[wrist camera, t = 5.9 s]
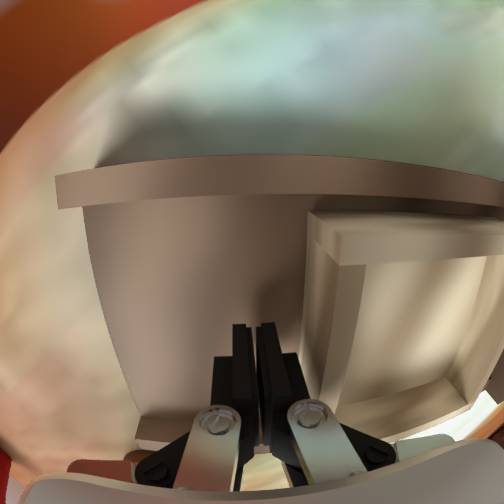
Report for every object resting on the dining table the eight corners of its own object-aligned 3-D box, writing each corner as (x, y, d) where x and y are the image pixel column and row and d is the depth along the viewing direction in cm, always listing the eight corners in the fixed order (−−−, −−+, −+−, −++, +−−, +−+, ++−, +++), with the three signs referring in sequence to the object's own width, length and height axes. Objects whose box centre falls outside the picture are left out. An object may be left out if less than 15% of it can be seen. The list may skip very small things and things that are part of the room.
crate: (493, 217, 11) (538, 235, 7) (445, 377, 14) (470, 409, 11) (307, 210, 10) (341, 235, 7) (292, 412, 14) (302, 462, 10)
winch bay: (527, 189, 12) (623, 224, 3) (477, 370, 17) (531, 435, 8) (92, 170, 10) (-101, 220, 1) (152, 421, 15) (128, 541, 6)
